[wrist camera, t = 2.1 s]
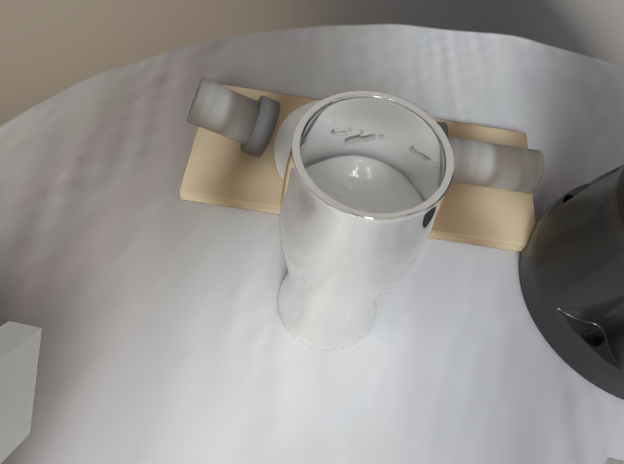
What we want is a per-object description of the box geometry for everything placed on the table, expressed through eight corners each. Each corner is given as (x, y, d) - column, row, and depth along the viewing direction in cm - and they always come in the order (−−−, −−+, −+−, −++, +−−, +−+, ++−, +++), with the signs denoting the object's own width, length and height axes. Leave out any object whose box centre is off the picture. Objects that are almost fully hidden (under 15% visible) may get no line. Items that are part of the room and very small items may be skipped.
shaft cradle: (520, 141, 44) (554, 87, 39) (531, 253, 39) (572, 207, 34) (206, 91, 43) (202, 30, 39) (175, 198, 38) (165, 143, 33)
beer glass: (255, 271, 36) (262, 103, 23) (356, 243, 38) (414, 73, 25) (292, 374, 33) (323, 245, 20) (400, 338, 35) (492, 198, 22)
